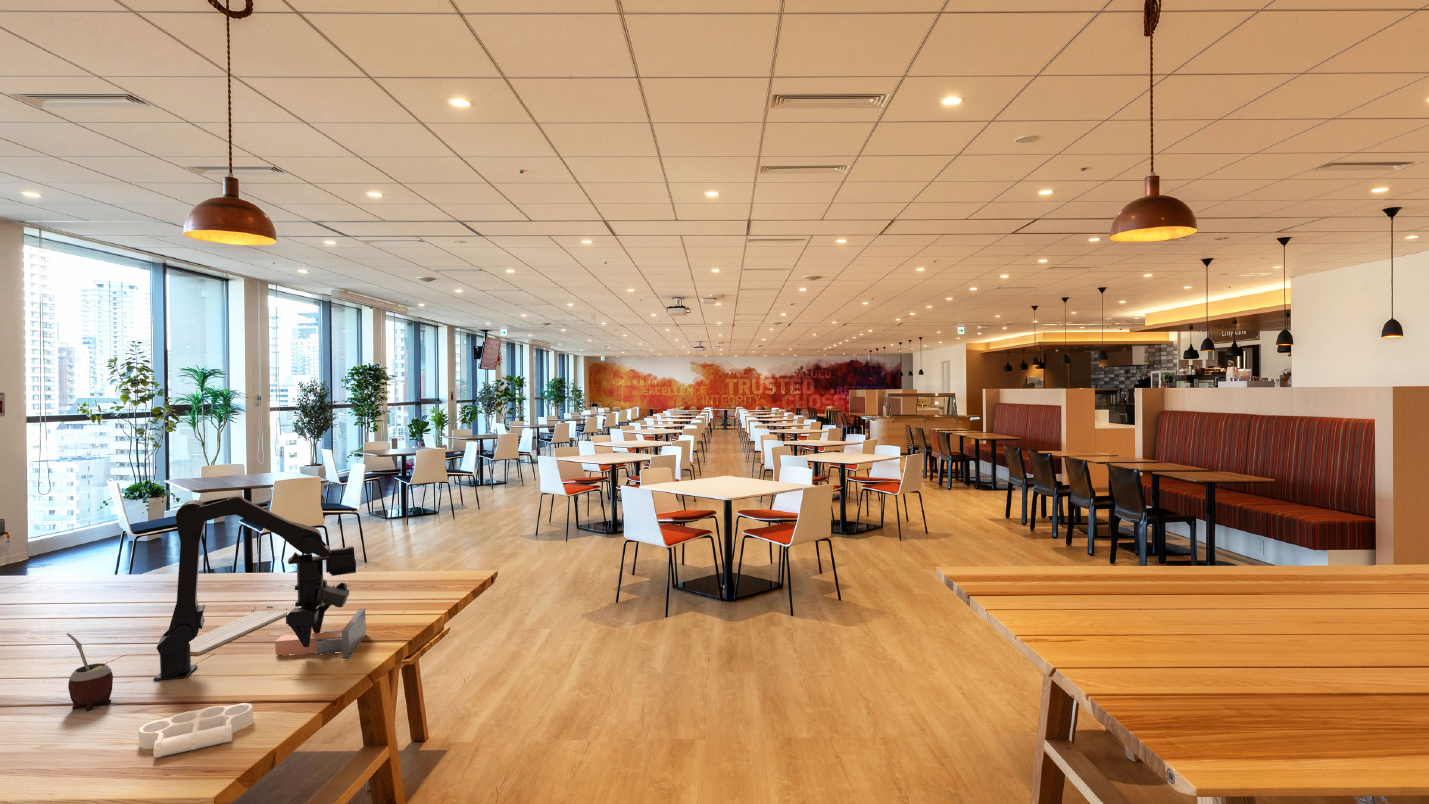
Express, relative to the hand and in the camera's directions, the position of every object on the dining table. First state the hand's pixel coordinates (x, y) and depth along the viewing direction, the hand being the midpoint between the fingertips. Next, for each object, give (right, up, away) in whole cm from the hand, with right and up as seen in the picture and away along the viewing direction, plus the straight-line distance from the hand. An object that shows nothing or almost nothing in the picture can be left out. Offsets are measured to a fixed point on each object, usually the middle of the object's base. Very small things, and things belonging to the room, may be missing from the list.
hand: (312, 640), depth 183 cm
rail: (0, -3, 0) cm, 3 cm away
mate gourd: (-30, -4, -30) cm, 43 cm away
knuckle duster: (+2, -5, -43) cm, 44 cm away
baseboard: (-31, -3, +14) cm, 34 cm away
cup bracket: (+6, -2, +2) cm, 7 cm away
